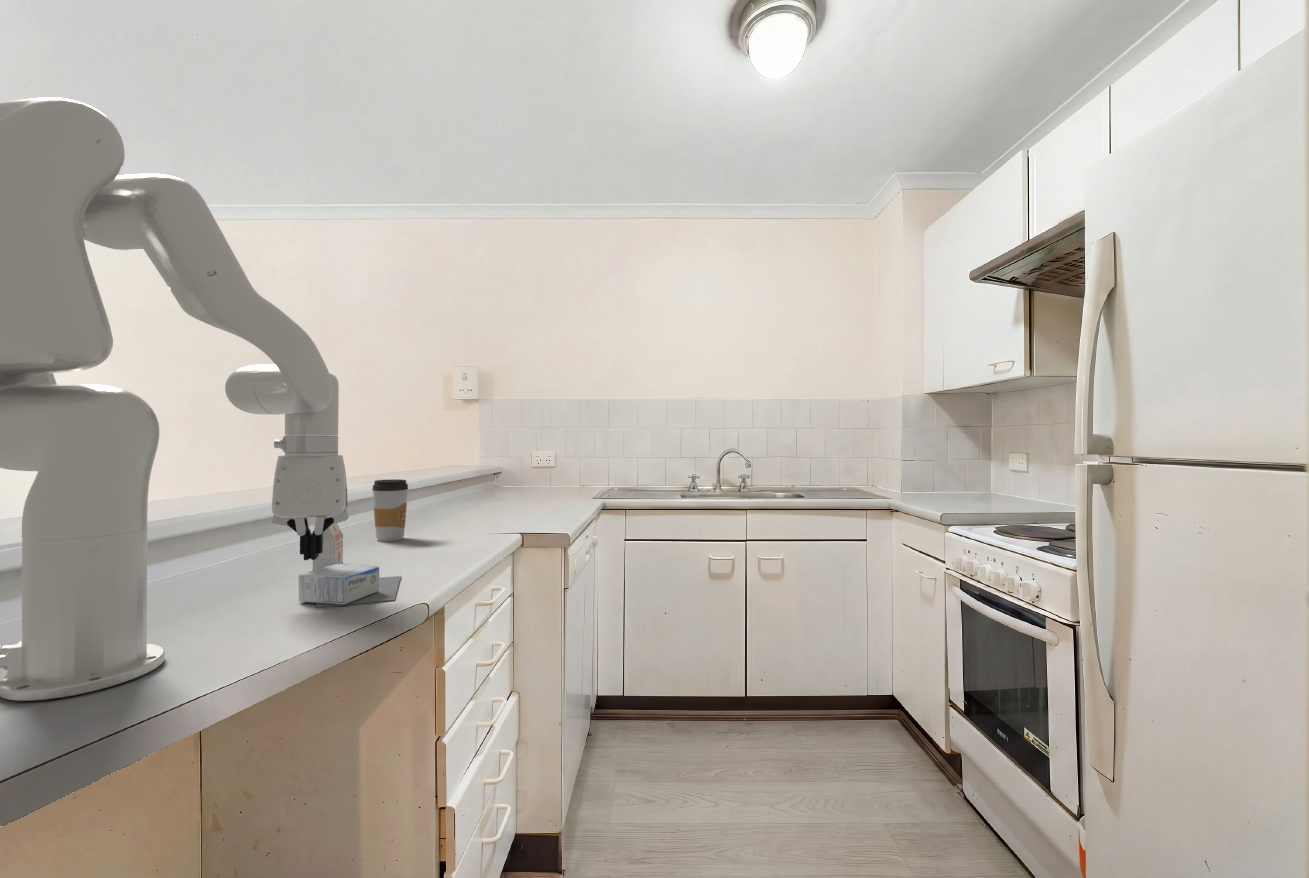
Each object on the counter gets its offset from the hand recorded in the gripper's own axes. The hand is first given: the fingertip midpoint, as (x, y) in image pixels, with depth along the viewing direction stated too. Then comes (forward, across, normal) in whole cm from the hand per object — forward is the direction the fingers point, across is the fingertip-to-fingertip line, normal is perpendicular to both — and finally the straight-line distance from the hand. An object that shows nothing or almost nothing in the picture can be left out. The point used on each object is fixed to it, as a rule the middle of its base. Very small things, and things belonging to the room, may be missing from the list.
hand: (311, 558), depth 91 cm
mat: (+6, +8, 0) cm, 10 cm away
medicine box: (+4, +1, -1) cm, 4 cm away
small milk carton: (+6, -1, +21) cm, 22 cm away
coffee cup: (+6, +8, +50) cm, 51 cm away
